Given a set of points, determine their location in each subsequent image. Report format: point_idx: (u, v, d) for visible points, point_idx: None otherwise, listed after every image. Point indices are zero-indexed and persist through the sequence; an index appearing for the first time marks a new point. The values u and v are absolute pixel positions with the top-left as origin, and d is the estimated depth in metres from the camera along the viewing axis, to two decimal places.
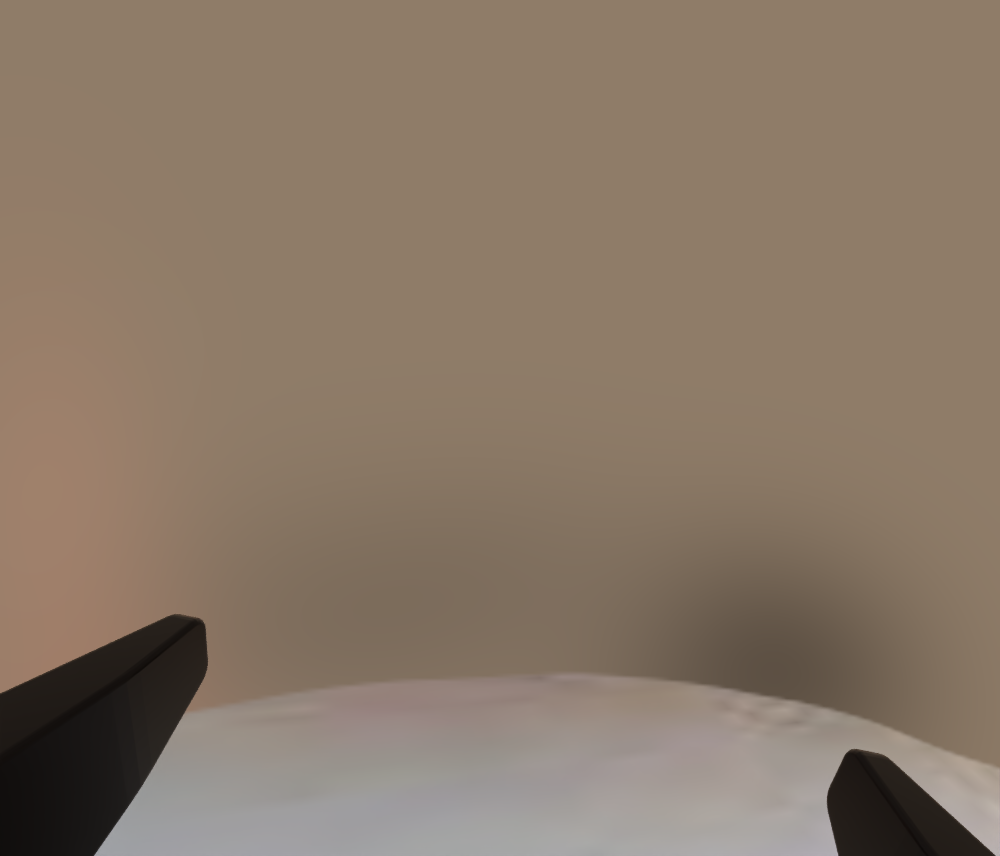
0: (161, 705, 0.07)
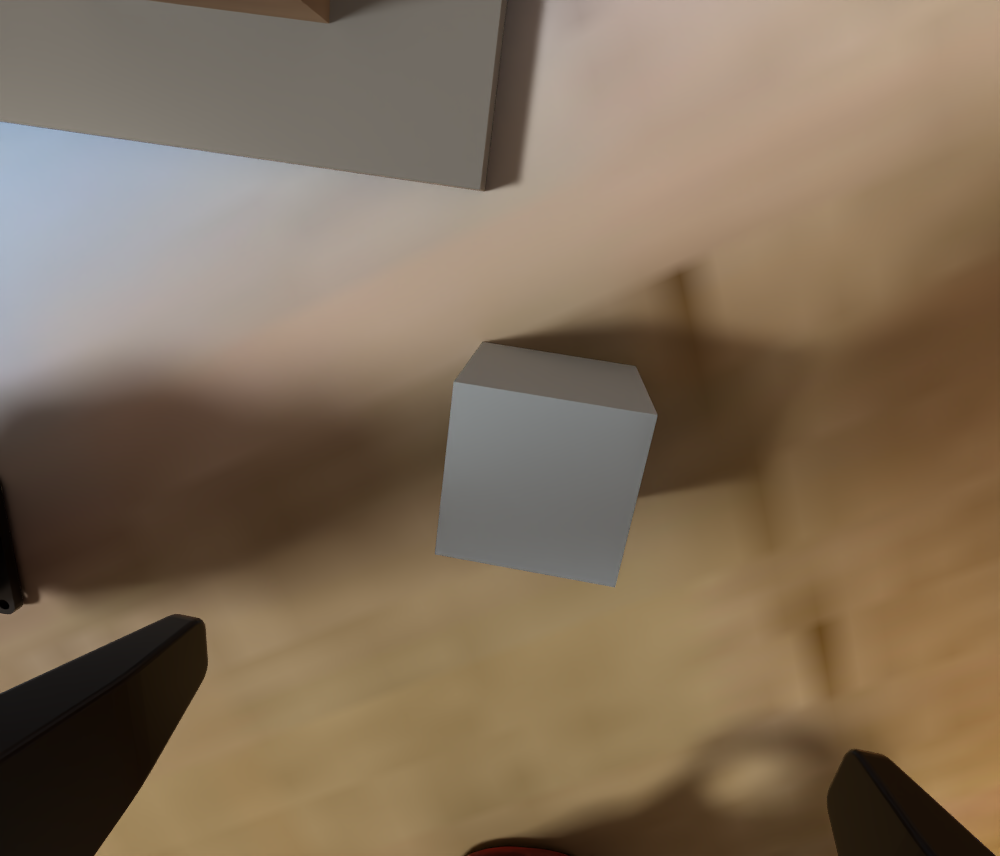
0: (161, 705, 0.07)
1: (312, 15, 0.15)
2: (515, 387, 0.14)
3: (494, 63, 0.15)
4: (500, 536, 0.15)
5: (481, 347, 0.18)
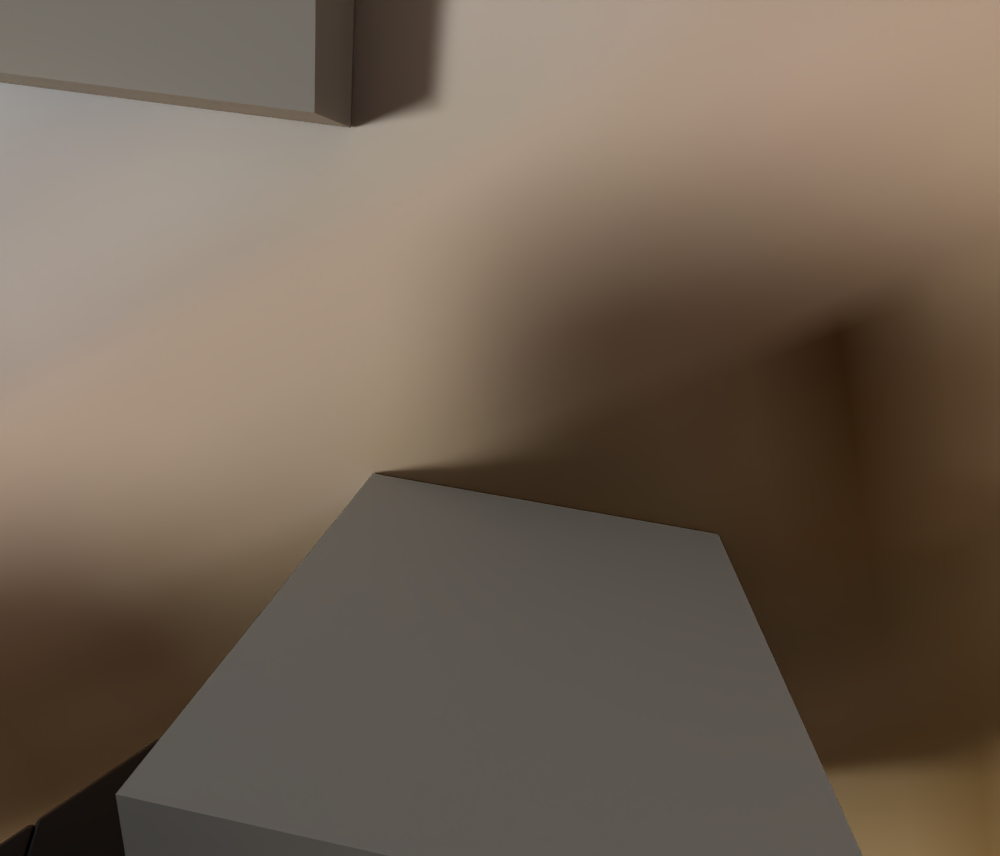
0: None
1: None
2: (360, 788, 0.04)
3: None
4: None
5: (356, 503, 0.07)
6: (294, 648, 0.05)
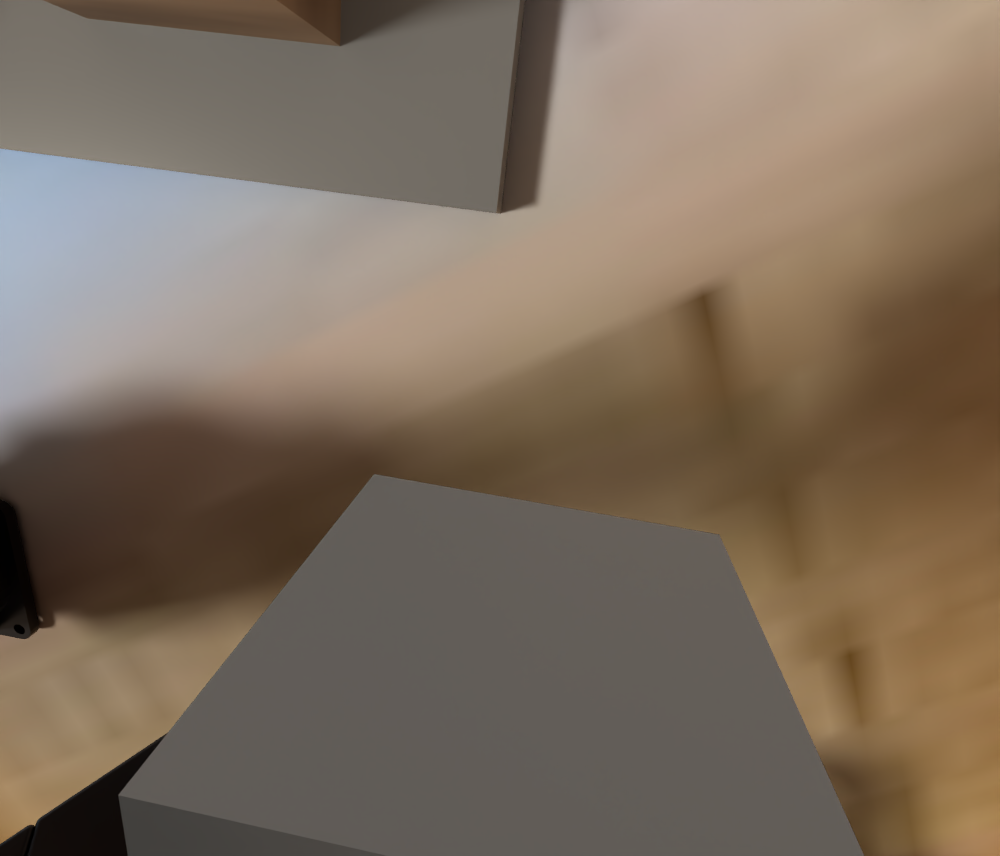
0: None
1: (323, 38, 0.14)
2: (363, 790, 0.04)
3: (510, 83, 0.15)
4: None
5: (357, 503, 0.07)
6: (296, 649, 0.05)
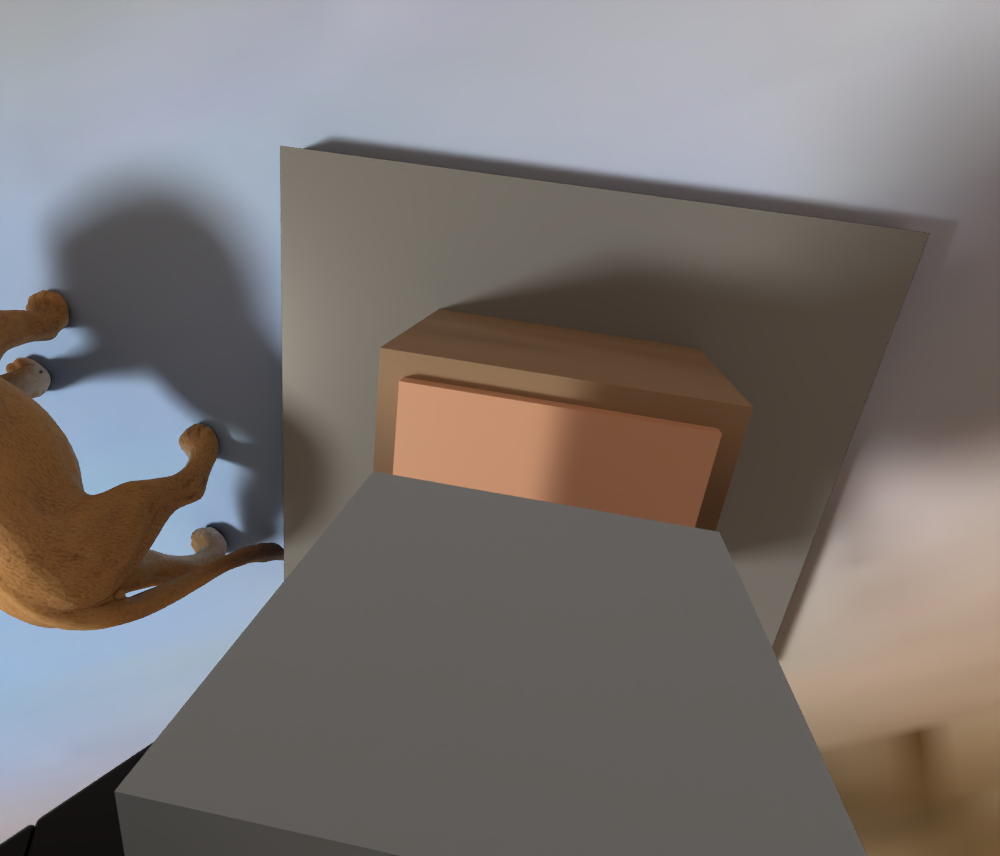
0: None
1: None
2: (361, 787, 0.04)
3: (785, 607, 0.17)
4: None
5: (356, 500, 0.07)
6: (294, 645, 0.05)
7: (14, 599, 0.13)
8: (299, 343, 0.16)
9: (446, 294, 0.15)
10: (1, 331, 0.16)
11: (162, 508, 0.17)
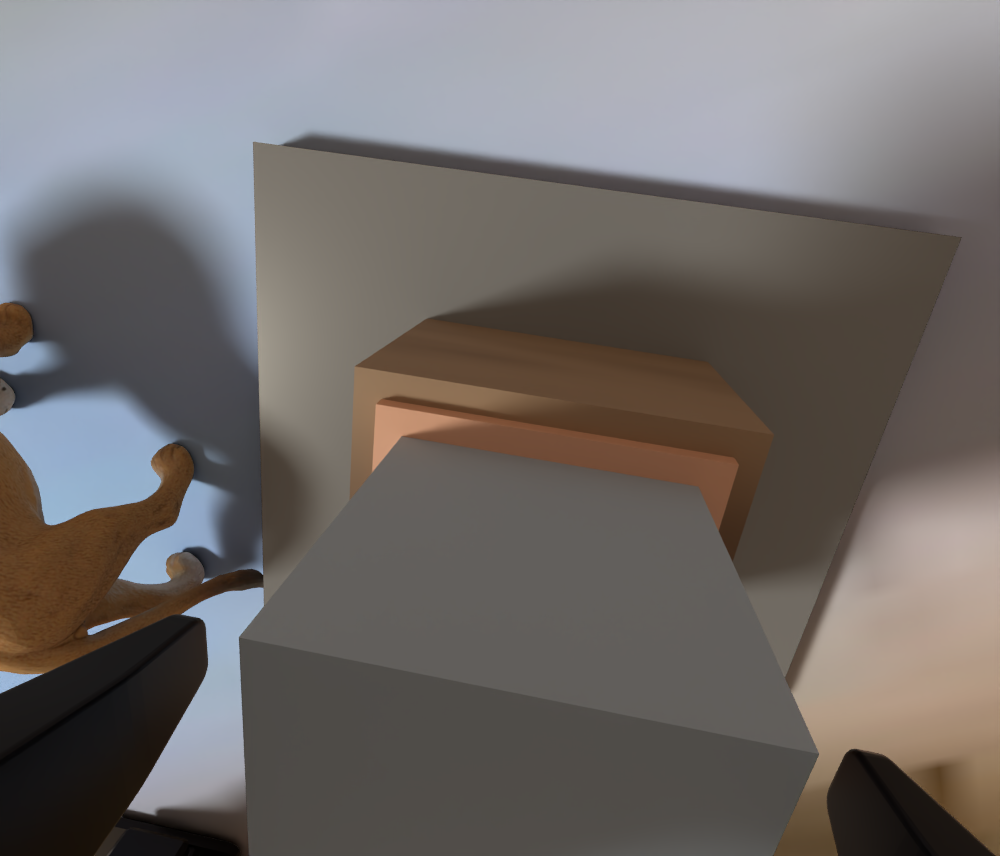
0: (161, 705, 0.07)
1: None
2: (415, 640, 0.05)
3: (799, 637, 0.16)
4: None
5: (390, 457, 0.09)
6: (354, 555, 0.06)
7: None
8: (276, 355, 0.15)
9: (434, 303, 0.14)
10: None
11: (129, 537, 0.15)
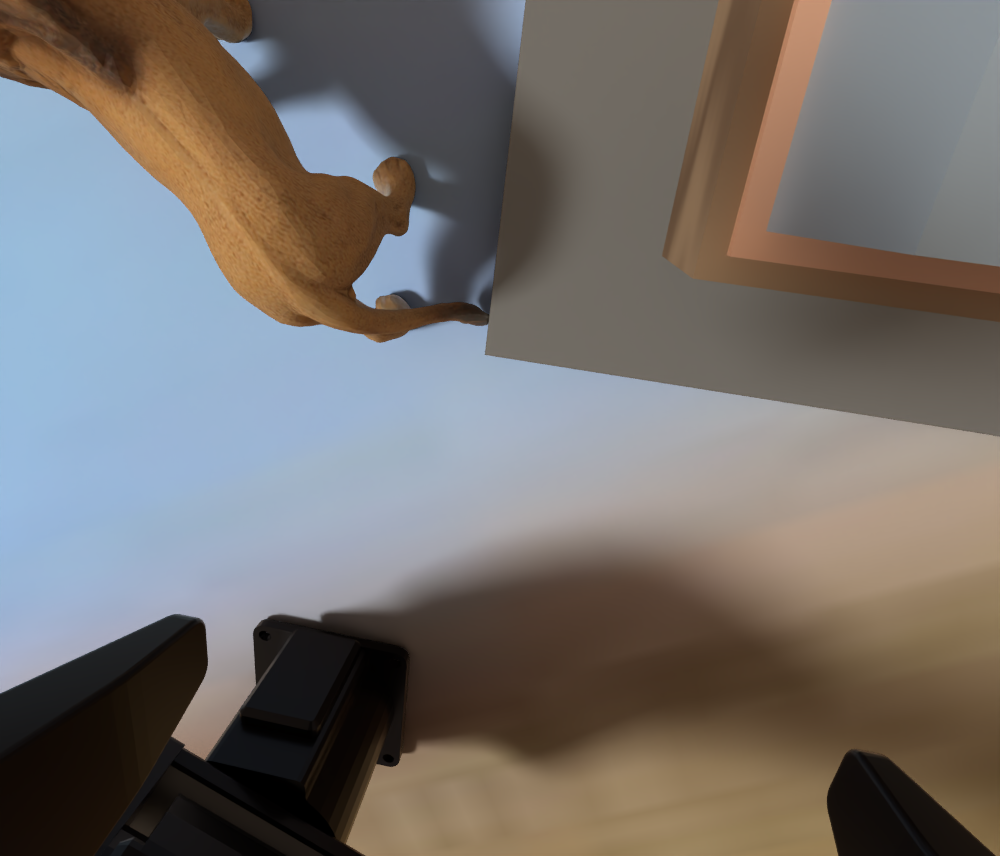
0: (161, 705, 0.07)
1: None
2: None
3: None
4: None
5: None
6: None
7: (261, 252, 0.11)
8: (547, 1, 0.14)
9: None
10: None
11: (381, 217, 0.14)
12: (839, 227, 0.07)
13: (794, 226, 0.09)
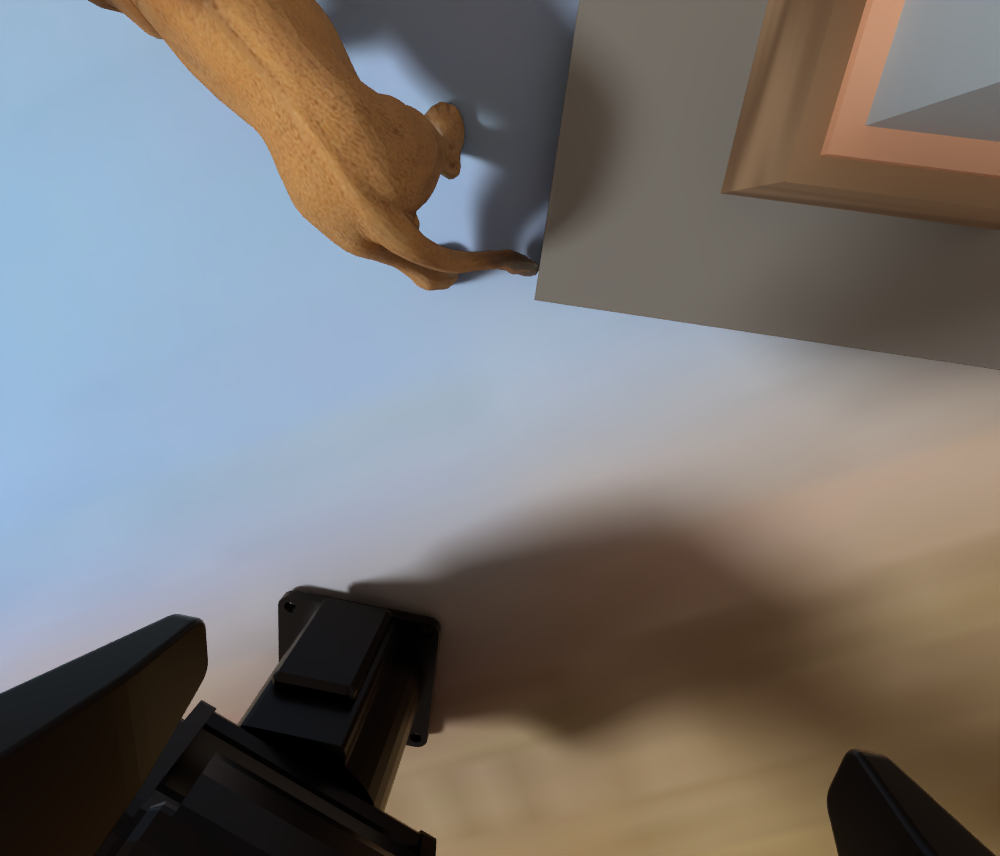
0: (161, 705, 0.07)
1: None
2: None
3: None
4: None
5: None
6: None
7: (335, 163, 0.11)
8: None
9: None
10: None
11: (440, 152, 0.14)
12: (987, 70, 0.07)
13: (913, 100, 0.09)
